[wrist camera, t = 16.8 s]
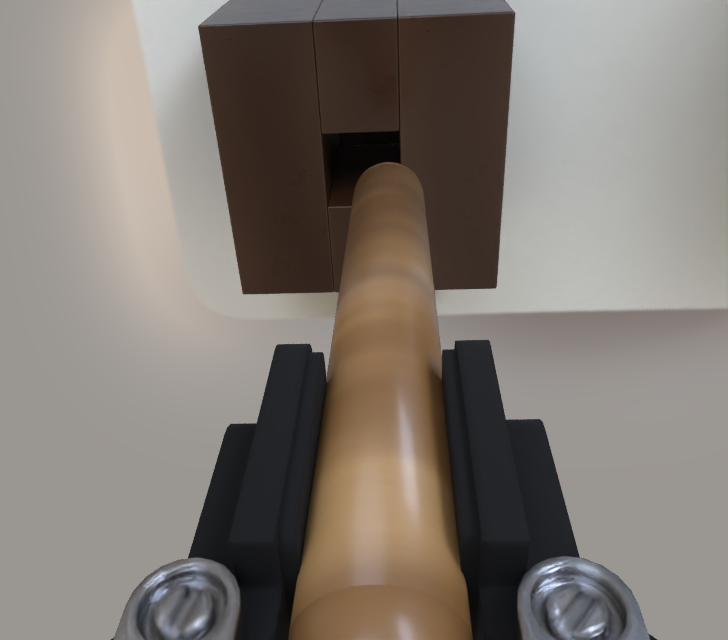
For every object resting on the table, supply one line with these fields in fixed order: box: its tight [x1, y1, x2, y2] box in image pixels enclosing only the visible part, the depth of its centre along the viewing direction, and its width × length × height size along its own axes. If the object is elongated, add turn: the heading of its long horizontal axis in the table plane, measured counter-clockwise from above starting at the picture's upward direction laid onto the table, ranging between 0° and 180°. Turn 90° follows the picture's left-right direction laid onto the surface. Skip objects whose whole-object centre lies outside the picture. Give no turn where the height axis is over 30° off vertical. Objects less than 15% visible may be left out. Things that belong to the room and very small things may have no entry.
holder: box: [198, 0, 515, 294], centre depth 28 cm, size 10×10×7 cm
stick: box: [288, 162, 473, 640], centre depth 14 cm, size 2×2×16 cm
